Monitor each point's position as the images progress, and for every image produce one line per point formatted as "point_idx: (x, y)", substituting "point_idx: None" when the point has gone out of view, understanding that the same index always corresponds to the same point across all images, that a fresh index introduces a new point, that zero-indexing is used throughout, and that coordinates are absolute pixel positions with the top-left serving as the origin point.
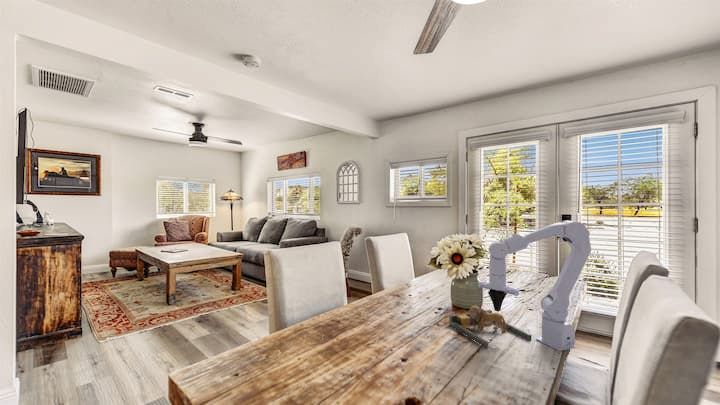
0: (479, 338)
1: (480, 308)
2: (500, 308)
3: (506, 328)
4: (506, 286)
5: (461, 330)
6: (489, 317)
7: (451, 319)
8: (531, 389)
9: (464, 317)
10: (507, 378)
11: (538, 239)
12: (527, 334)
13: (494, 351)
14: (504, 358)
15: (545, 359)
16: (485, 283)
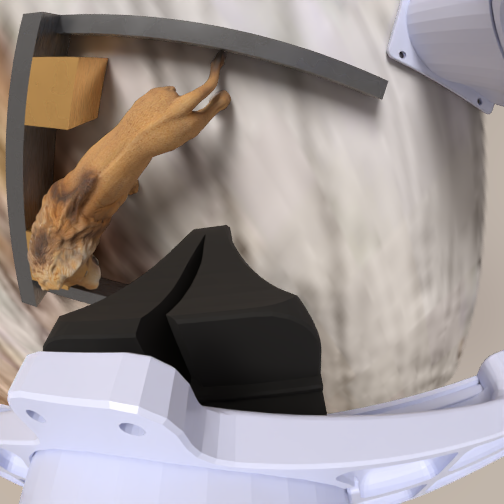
0: None
1: (59, 228)
2: (230, 236)
3: (219, 71)
4: (335, 476)
5: None
6: (135, 180)
7: (42, 295)
8: (438, 374)
9: None
10: (392, 384)
11: None
12: (372, 93)
13: (312, 319)
14: (358, 329)
15: (461, 225)
16: (11, 475)
